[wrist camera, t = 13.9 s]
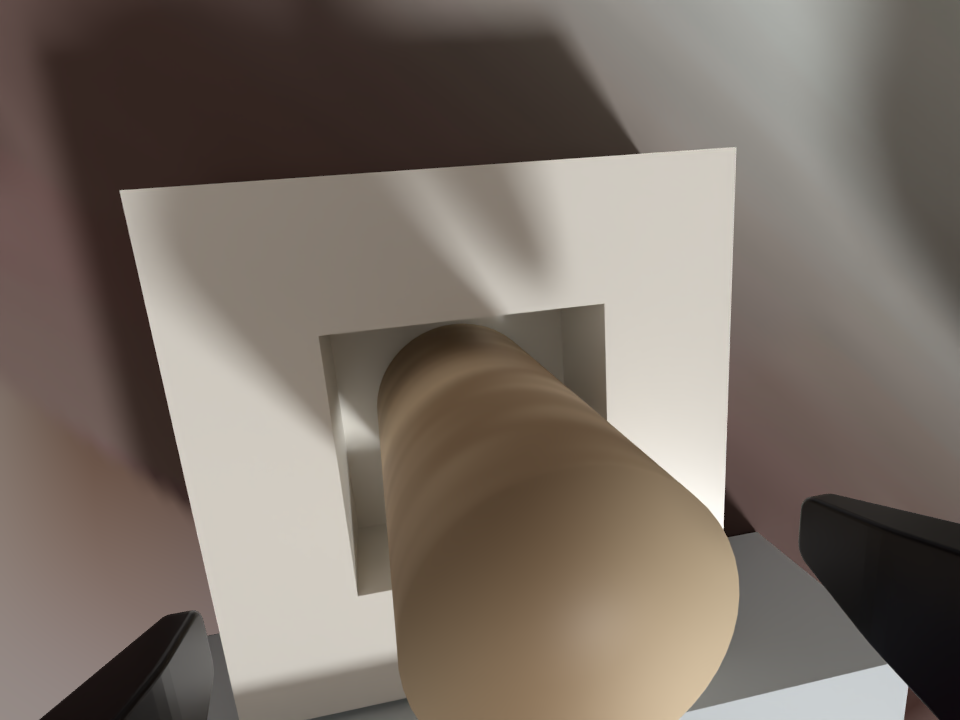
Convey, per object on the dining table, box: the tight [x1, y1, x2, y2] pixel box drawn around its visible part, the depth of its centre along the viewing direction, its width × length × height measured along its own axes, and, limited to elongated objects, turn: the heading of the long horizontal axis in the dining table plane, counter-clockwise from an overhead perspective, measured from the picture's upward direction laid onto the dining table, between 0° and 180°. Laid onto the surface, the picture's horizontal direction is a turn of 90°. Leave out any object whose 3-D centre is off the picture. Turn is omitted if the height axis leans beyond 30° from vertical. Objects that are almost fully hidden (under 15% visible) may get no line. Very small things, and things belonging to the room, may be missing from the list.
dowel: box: [377, 324, 739, 720], centre depth 12 cm, size 4×4×9 cm
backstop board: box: [207, 532, 908, 720], centre depth 16 cm, size 20×2×6 cm, turn 94°
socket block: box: [119, 147, 736, 720], centre depth 15 cm, size 12×12×4 cm
